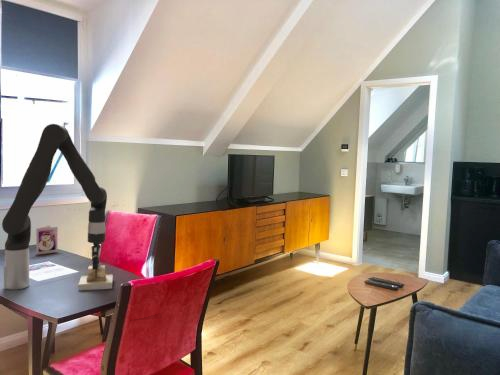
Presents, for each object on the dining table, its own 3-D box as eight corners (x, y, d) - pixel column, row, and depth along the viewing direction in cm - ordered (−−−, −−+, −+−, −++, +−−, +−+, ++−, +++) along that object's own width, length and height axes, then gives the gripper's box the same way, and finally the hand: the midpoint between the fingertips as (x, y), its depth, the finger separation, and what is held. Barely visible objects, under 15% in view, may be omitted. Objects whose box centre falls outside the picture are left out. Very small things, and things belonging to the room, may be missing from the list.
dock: (78, 290, 179) (78, 284, 179) (81, 281, 191) (81, 276, 191) (112, 288, 184) (112, 282, 183) (112, 280, 195) (112, 274, 195)
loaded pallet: (86, 282, 183) (86, 268, 183) (87, 278, 188) (87, 265, 188) (105, 281, 186) (105, 268, 185) (105, 277, 190) (106, 264, 190)
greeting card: (36, 254, 234) (36, 229, 233) (33, 252, 239) (33, 227, 238) (57, 252, 242) (57, 227, 240) (53, 249, 247) (53, 225, 246)
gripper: (89, 228, 191) (88, 262, 192) (86, 234, 177) (85, 271, 178) (106, 228, 193) (105, 262, 194) (104, 234, 179) (103, 270, 181)
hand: (95, 266), depth 186 cm, fingers open, 8 cm apart
